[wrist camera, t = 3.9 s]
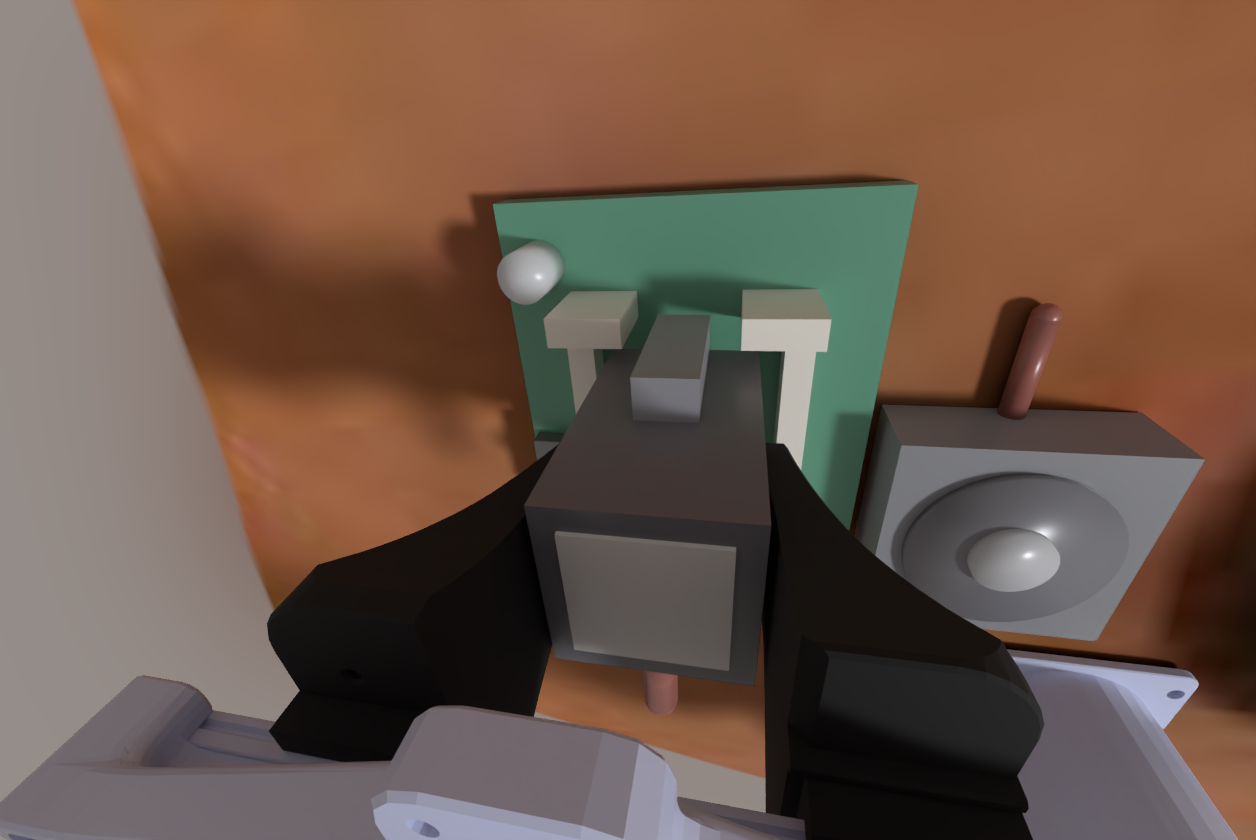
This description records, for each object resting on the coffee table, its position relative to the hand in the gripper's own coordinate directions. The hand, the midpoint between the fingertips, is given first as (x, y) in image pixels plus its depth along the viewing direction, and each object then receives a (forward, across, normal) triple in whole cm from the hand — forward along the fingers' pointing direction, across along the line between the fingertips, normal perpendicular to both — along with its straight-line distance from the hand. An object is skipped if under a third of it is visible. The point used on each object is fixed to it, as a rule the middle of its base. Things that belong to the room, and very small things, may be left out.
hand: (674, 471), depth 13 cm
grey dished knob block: (+5, -10, +2) cm, 11 cm away
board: (+5, 0, 0) cm, 5 cm away
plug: (+3, 0, 0) cm, 3 cm away
